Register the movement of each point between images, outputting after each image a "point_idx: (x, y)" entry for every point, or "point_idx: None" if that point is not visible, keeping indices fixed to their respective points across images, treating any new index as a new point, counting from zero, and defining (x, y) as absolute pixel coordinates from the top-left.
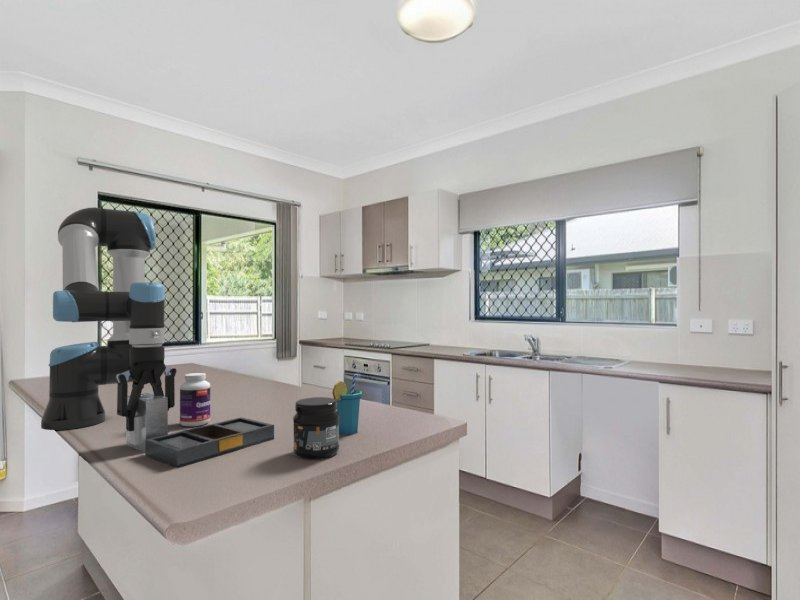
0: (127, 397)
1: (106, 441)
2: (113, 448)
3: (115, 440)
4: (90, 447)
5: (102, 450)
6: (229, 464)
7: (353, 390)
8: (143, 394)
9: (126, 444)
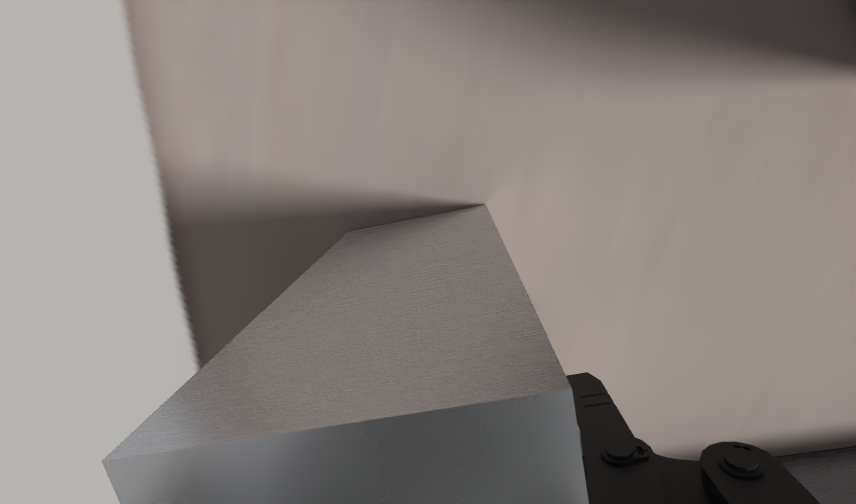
0: (131, 483)
1: (247, 13)
2: (273, 248)
3: (304, 33)
4: (150, 111)
5: (214, 245)
6: None
7: None
8: (436, 499)
9: (347, 232)
